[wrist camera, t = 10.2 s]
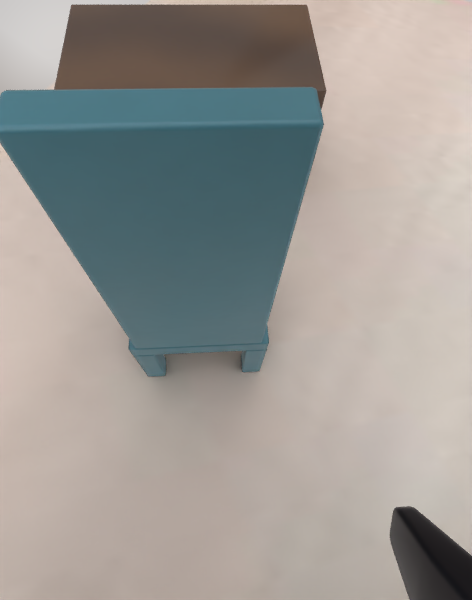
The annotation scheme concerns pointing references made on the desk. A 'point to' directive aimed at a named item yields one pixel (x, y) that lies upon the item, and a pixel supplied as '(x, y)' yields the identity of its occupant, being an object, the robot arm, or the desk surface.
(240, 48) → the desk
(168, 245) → the chair
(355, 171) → the desk surface
